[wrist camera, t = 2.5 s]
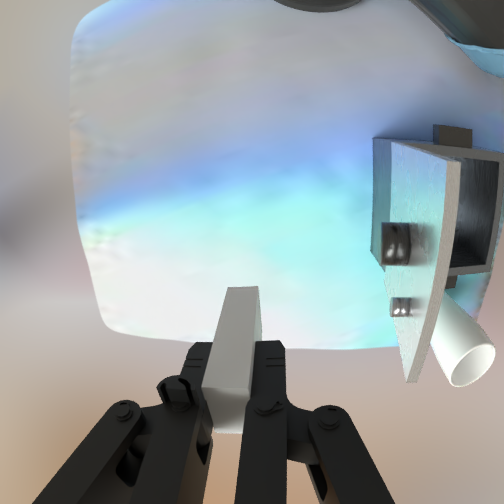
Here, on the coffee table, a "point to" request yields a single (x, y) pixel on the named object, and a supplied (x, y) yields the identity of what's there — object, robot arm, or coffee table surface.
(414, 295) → the lid
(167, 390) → the robot arm
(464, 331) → the white hollow cylinder
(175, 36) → the coffee table surface
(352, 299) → the coffee table surface
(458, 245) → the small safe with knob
